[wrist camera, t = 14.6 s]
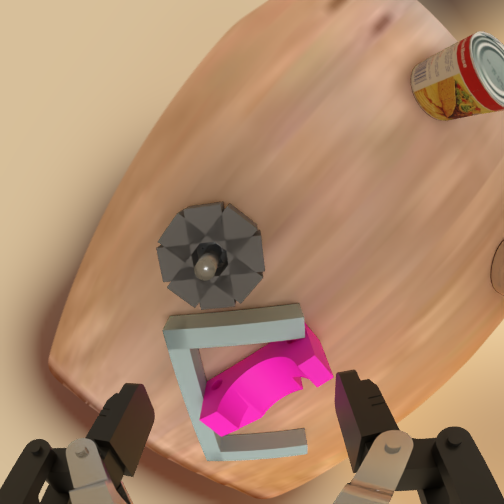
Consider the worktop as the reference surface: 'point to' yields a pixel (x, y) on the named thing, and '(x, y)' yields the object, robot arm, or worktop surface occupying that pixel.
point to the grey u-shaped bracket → (194, 381)
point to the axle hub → (209, 260)
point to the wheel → (225, 235)
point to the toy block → (262, 382)
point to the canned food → (462, 79)
